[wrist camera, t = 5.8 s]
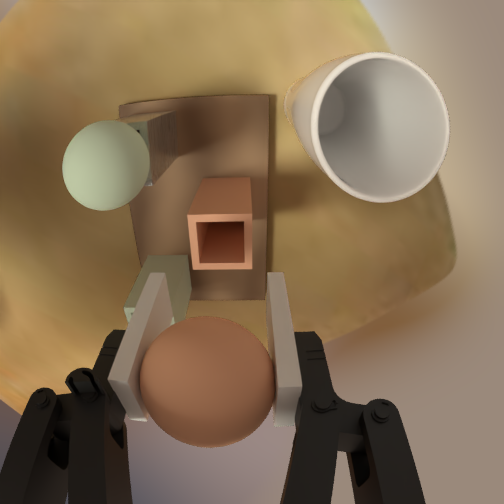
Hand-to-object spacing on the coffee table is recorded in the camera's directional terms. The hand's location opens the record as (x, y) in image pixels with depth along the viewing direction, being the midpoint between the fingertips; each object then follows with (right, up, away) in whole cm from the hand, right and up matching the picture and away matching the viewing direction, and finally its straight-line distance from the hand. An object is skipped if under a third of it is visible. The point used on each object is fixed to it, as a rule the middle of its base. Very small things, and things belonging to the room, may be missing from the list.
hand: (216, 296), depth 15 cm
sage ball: (-6, +8, +2) cm, 10 cm away
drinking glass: (+7, +15, +9) cm, 19 cm away
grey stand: (-6, +12, +9) cm, 16 cm away
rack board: (-3, +6, +13) cm, 15 cm away
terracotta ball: (0, -1, -2) cm, 3 cm away
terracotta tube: (0, +7, +12) cm, 14 cm away
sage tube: (-6, 0, +15) cm, 17 cm away
